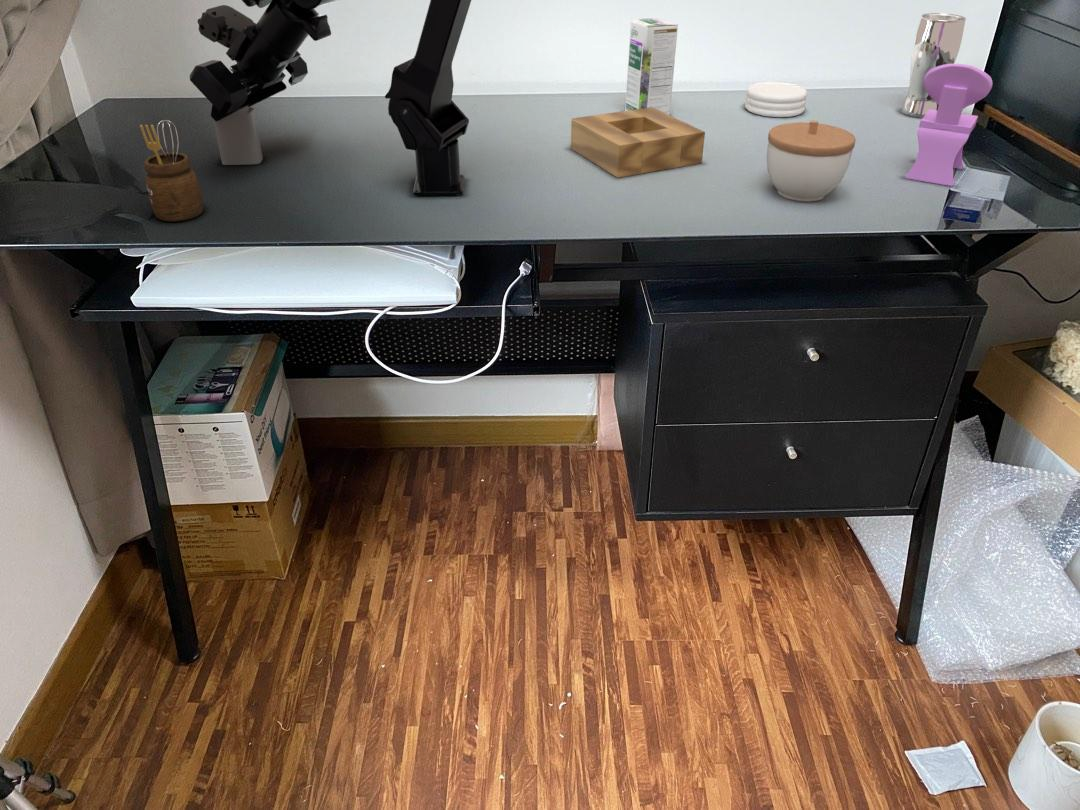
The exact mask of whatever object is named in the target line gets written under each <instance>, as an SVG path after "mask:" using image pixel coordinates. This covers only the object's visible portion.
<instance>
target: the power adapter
mask: <svg viewBox="0 0 1080 810" xmlns="http://www.w3.org/2000/svg"><path fill="white" fill-rule="evenodd" d="M212 122H213V127H214V133H215V137H216V142H217V147H218V151H219V155H220V161H221V164H222V165H223V166H241V165H243V166H245V165H249V166H250V165H259V164H261V163H262V161H263V159H264V158H263V152H262V148H261V147H262V146H261V142H260V136H259V131H258V123H257V120H256V113H255V108H254V107H252V106H250V107H248V106H247V107H245V108H243V109H241V110H239V111H237V112H235V113H233V114H231V115H229V116H227V117H225V118H223V119H221V120H219V121H217V122H216V121H215V120H214V119H213V118H212Z"/></svg>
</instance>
